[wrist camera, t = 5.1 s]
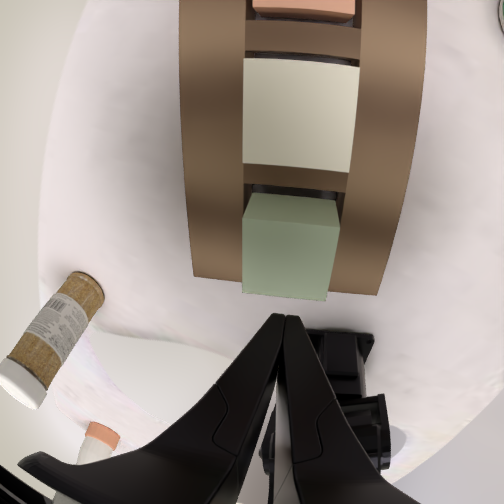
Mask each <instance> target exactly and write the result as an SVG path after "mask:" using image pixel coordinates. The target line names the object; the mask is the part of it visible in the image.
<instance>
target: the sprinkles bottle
mask: <svg viewBox="0 0 504 504" xmlns="http://www.w3.org/2000/svg"><path fill="white" fill-rule="evenodd" d="M103 302H104V297H103V293H102V290H101V289H100V287H99V286H98V284H97V283H96V282H95V281H94V280H93V279H92V278H90V277H89V276H87V275H85V274H82V273H77V272H76V273H72V274H71V275H70V276H68V278H67V281H66V282H65V283H64V284H63V285H62V286H61V288H60V289H59V290H58V291H57V293H56V294H54V295H53V296H52V297H51V298H50V300H49V301H48V302H47V303H46V304H45V306H44V307H43V308H42V309H41V311H40V312H39V313H38V315H37V316H36V317H35V318H34V320H33V321H32V322H31V324H30V325H29V326H28V328H27V329H26V330H25V332H24V334H23V336H22V337H21V339H20V340H19V342H18V343H17V344H16V346H15V347H14V349H13V350H12V352H11V353H10V354H9V355H8V356H7V358H5V359H4V360H3V361H2V362H1V364H0V385H1V386H2V387H3V388H4V389H5V390H6V391H7V392H8V393H9V394H10V395H11V396H13V397H14V398H15V399H16V400H18V401H19V402H20V403H22V404H23V405H25V406H27V407H29V408H31V409H34V410H37V409H38V408H39V407H40V405H41V404H42V402H43V400H44V398H45V397H46V395H47V393H46V391H47V390H48V387H49V385H50V384H51V382H52V380H53V378H54V377H55V375H56V373H57V372H58V370H59V369H60V367H61V366H62V365H63V364H64V362H65V360H66V359H67V357H68V356H69V354H70V352H71V351H72V349H73V348H74V346H75V344H76V343H77V341H78V340H79V338H80V337H81V335H82V333H83V332H84V330H85V329H86V327H87V326H88V323H89V322H90V320H91V319H92V317H93V316H94V314H95V313H96V311H97V310H98V309H99V308H100V307H101V306H102V304H103Z"/></svg>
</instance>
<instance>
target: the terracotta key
mask: <svg viewBox="0 0 504 504" xmlns="http://www.w3.org/2000/svg"><path fill="white" fill-rule="evenodd" d="M253 8H254V9H255V10H256V12H257V13H258V14H259V15H260V16H261V17H279V18H299V19H312V20H322V21H331V22H339V23H347V22H348V21H349V20H350V19H351V18H352V17H353V16H354V15H355V0H253Z"/></svg>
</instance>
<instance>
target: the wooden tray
mask: <svg viewBox="0 0 504 504" xmlns="http://www.w3.org/2000/svg"><path fill="white" fill-rule="evenodd" d="M426 38H427V0H355V15H354V16H353V27H345V26H338V25H330V24H321V23H310V22H296V21H274V20H255V9H254V8H253V0H179V83H180V113H181V134H182V152H183V167H184V181H185V194H186V206H187V217H188V228H189V238H190V247H191V257H192V265H193V274H194V277H202V278H210V279H218V280H227V281H235V282H242V218H243V215H244V213H245V210H246V208H247V205H248V203H249V200H250V198H251V195H252V184H262V185H275V186H286V187H297V188H307V189H317V190H326V191H335V192H338V193H337V200H336V207H337V213H338V218H339V224H340V232H339V237H338V243H337V248H336V253H335V258H334V263H333V268H332V273H331V278H330V283H329V288H328V291H330V292H341V293H352V294H364V295H376V296H377V293H378V290H379V287H380V284H381V281H382V277H383V274H384V271H385V268H386V264H387V261H388V258H389V254H390V251H391V247H392V244H393V240H394V237H395V233H396V229H397V225H398V222H399V218H400V214H401V209H402V205H403V201H404V197H405V192H406V188H407V183H408V179H409V174H410V169H411V164H412V158H413V153H414V147H415V141H416V135H417V129H418V122H419V115H420V108H421V100H422V91H423V81H424V70H425V57H426ZM254 53H267V54H289V55H304V56H315V57H325V58H333V59H341V60H348V61H351V66H353V67H360V73H359V86H358V98H357V109H356V119H355V128H354V137H353V145H352V153H351V161H350V168H349V173H347V172H339V171H330V170H322V169H312V168H302V167H291V166H279V165H266V164H251V163H243V63H244V58H254Z"/></svg>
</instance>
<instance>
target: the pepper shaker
mask: <svg viewBox="0 0 504 504" xmlns="http://www.w3.org/2000/svg"><path fill="white" fill-rule="evenodd" d="M85 436H86V438H85V440H84V442H83V444H82V446H81V448H80V452H79V456H78V460H77V464H76V465H82V464H88V463H92V462H96V461H99V460H103V459H107V458H110V456H111V454H112V451H114V450H115V449H116V446H117V444H118V441H119V439H120V436H119V435H118V434H117V433H115V432H114V431H113V430H111V429H109V428H107V427H105V426H103V425H101V424H99V423H96V422H90V425H89V427H88V429H87V431H86V433H85Z"/></svg>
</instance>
